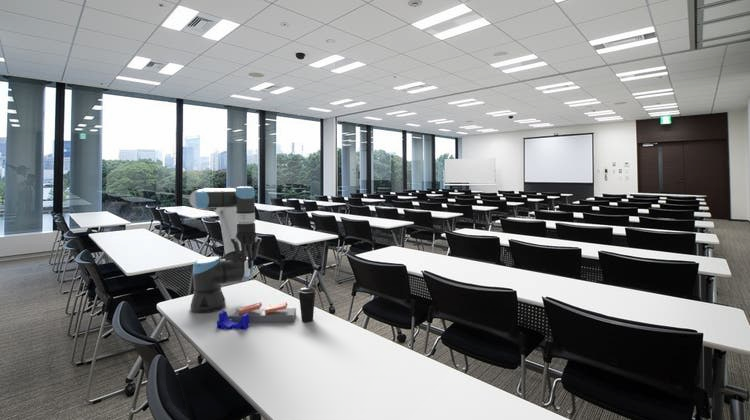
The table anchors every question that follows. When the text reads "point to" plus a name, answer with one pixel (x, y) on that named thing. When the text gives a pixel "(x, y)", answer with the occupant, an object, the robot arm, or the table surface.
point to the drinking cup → (307, 302)
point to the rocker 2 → (276, 307)
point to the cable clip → (229, 324)
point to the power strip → (267, 316)
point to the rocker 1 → (250, 308)
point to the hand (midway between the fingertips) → (247, 275)
